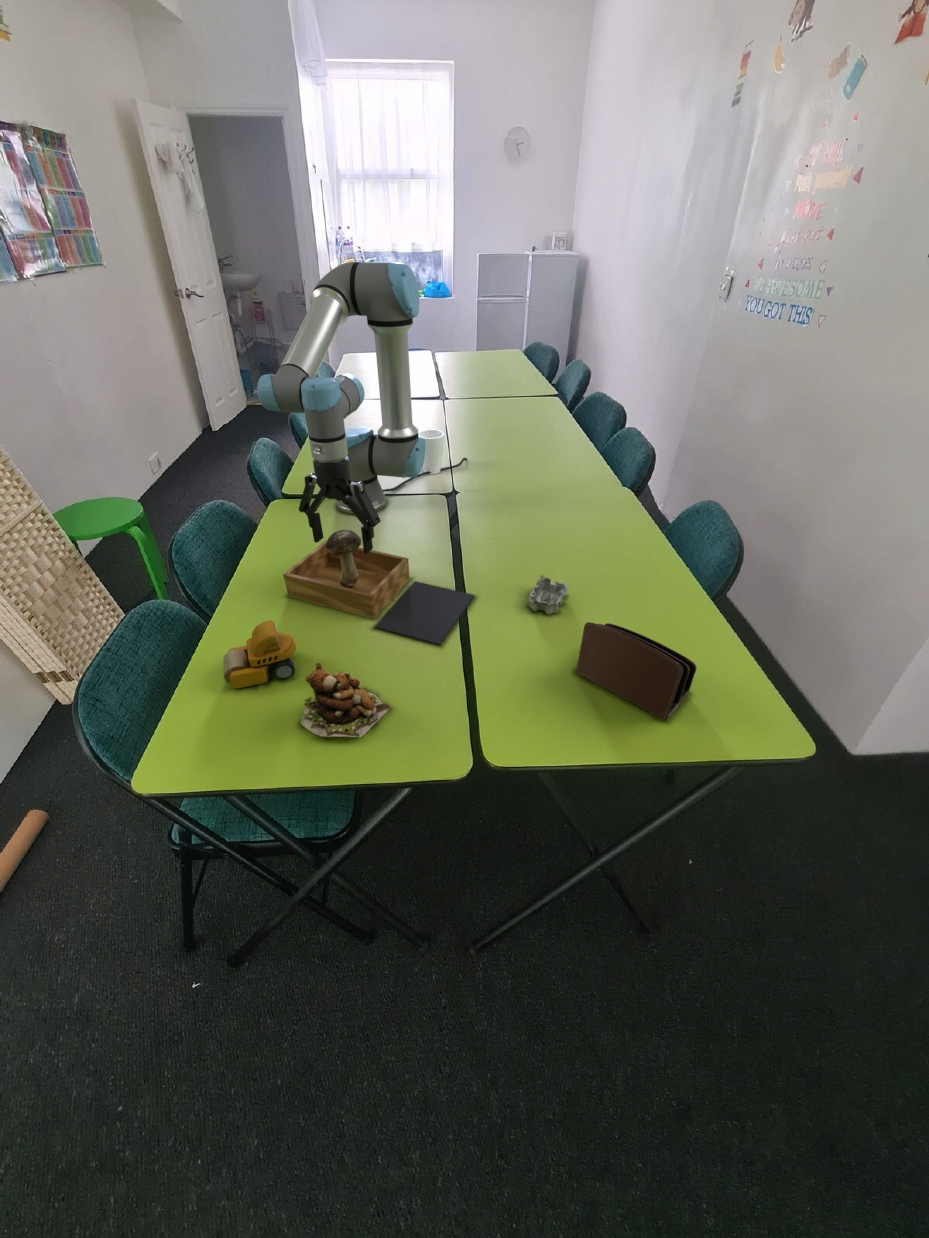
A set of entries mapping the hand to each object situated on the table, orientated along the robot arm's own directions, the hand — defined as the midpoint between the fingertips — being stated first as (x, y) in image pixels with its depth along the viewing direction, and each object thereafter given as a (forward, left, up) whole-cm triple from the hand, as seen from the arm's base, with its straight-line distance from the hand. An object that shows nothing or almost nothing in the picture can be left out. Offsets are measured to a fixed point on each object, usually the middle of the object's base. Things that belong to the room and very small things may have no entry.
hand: (343, 545), depth 131 cm
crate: (0, 0, -12) cm, 12 cm away
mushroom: (0, 0, -12) cm, 12 cm away
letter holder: (+8, +70, -12) cm, 71 cm away
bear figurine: (+37, +22, -12) cm, 45 cm away
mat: (+2, +22, -12) cm, 25 cm away
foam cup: (-75, -13, -12) cm, 77 cm away
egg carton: (-13, +47, -12) cm, 50 cm away
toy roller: (+33, 0, -12) cm, 35 cm away
